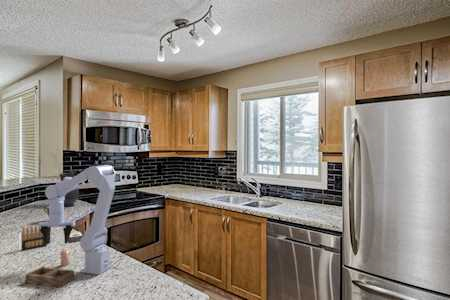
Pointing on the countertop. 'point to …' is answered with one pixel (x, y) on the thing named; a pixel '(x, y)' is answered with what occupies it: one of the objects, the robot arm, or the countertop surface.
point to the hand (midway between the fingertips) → (57, 243)
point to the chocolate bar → (75, 236)
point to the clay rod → (64, 258)
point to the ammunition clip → (32, 239)
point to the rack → (50, 276)
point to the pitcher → (71, 195)
